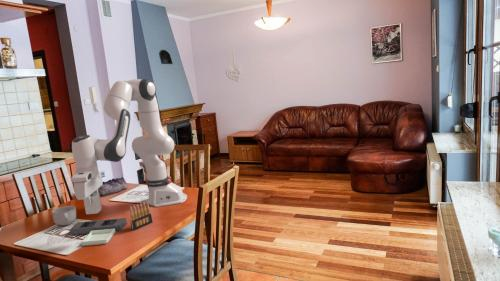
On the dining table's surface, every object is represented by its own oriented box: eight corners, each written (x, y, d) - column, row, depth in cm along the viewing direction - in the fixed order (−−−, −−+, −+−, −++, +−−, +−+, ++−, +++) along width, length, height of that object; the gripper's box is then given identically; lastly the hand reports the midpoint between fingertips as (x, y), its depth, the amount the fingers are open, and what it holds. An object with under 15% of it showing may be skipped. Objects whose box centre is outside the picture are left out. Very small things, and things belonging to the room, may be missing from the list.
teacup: (56, 221, 178) (53, 207, 177) (78, 217, 182) (76, 203, 181) (52, 232, 166) (49, 217, 164) (77, 226, 170) (74, 212, 168)
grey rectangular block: (101, 208, 154) (98, 191, 153) (97, 213, 149) (94, 194, 148) (90, 209, 154) (87, 192, 152) (86, 214, 149) (82, 196, 148)
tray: (115, 232, 160) (114, 228, 160) (106, 243, 149) (106, 239, 149) (92, 234, 160) (91, 230, 159) (81, 246, 149) (81, 242, 148)
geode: (122, 186, 232) (121, 172, 230) (130, 191, 224) (129, 177, 222) (92, 193, 218) (90, 179, 215) (99, 199, 210) (98, 185, 208)
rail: (126, 223, 169) (126, 217, 169) (121, 230, 161) (120, 224, 161) (78, 227, 168) (77, 222, 168) (71, 235, 161) (70, 229, 160)
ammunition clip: (133, 230, 160) (129, 207, 158) (131, 230, 161) (127, 206, 159) (152, 222, 168) (149, 199, 166) (150, 221, 169) (147, 199, 167)
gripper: (90, 166, 158) (94, 194, 161) (69, 179, 138) (75, 211, 141) (103, 165, 158) (108, 193, 161) (84, 178, 138) (90, 210, 141)
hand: (92, 201), depth 151 cm, fingers closed on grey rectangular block, 5 cm apart
